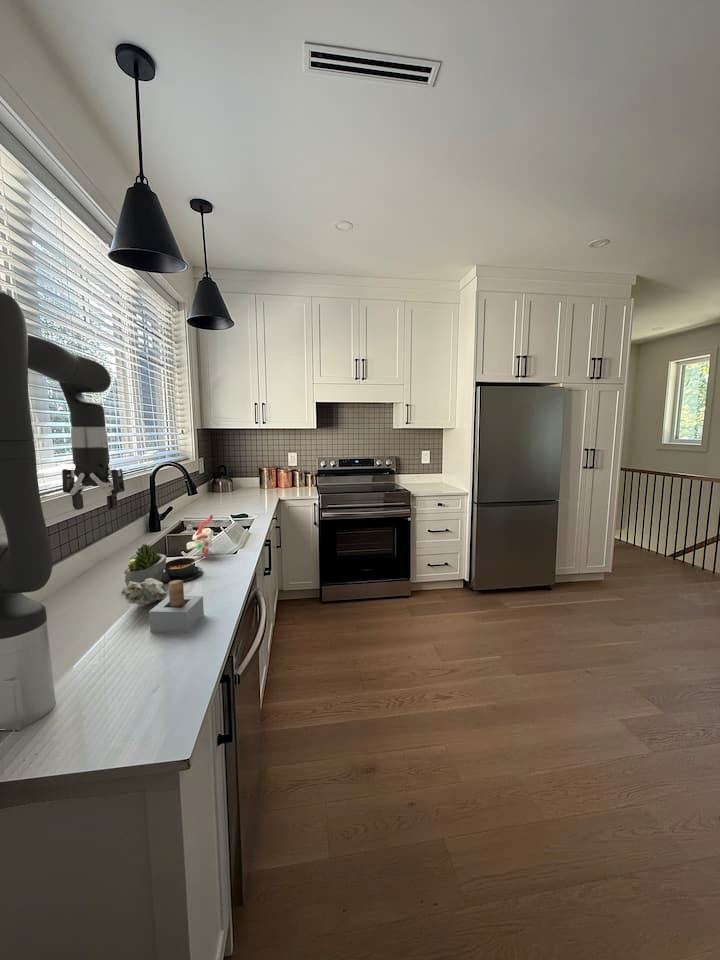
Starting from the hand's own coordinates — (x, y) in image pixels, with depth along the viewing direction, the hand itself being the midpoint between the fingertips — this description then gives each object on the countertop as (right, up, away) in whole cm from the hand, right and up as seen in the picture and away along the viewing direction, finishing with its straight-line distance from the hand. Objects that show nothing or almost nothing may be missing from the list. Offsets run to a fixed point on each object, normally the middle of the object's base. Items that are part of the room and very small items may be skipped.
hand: (95, 509), depth 100 cm
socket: (+17, -32, +9) cm, 38 cm away
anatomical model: (0, -25, +66) cm, 70 cm away
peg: (+17, -32, +9) cm, 38 cm away
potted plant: (-6, -29, +35) cm, 46 cm away
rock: (+2, -31, +20) cm, 37 cm away
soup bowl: (+2, -28, +44) cm, 52 cm away
